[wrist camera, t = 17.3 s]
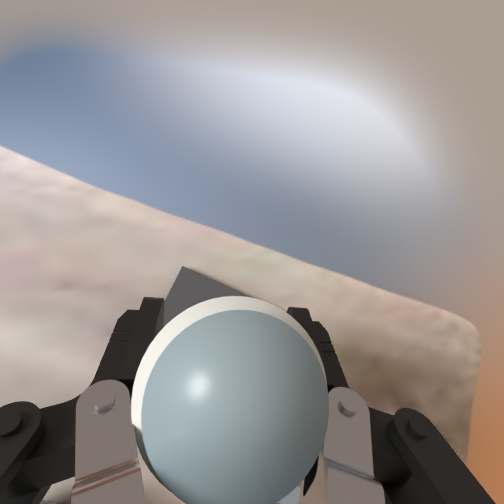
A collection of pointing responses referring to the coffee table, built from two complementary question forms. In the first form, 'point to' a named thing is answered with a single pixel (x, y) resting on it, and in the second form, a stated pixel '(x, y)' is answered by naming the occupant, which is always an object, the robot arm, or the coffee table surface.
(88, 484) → the robot arm
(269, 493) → the cylinder
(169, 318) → the rubber mat
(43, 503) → the decorative stone
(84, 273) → the coffee table surface
